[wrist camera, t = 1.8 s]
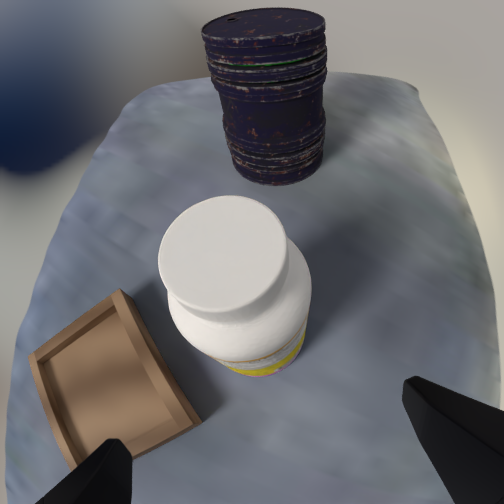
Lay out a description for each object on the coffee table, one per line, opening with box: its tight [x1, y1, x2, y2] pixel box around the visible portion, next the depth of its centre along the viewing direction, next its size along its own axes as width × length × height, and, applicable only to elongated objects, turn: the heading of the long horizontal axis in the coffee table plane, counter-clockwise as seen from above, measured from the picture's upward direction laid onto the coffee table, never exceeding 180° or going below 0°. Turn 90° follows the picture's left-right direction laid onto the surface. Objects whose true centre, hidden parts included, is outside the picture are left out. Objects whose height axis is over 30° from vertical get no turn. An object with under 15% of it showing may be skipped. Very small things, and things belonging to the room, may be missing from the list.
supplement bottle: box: [158, 196, 312, 377], centre depth 16 cm, size 7×7×13 cm
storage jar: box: [201, 8, 327, 186], centre depth 24 cm, size 10×10×15 cm
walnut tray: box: [28, 288, 203, 472], centre depth 19 cm, size 12×12×2 cm
